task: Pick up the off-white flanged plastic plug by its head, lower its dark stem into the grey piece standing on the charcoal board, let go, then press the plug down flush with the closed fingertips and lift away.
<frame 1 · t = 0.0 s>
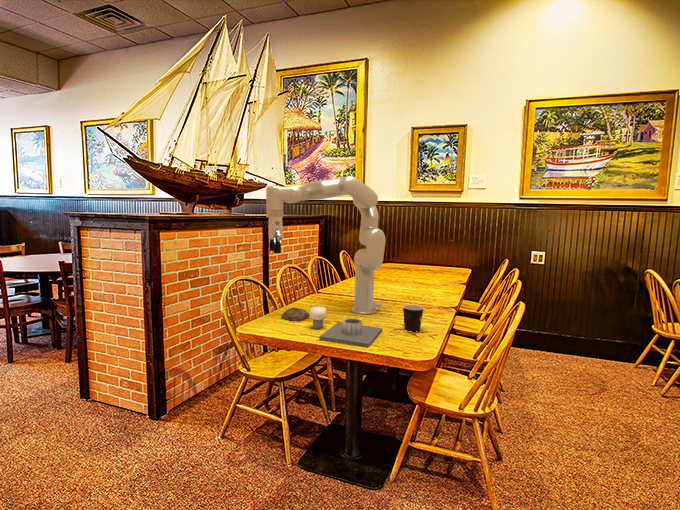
hand: (275, 252, 167), 31 cm above the table, tool pointing down, fingers open, 9 cm apart
plug: (318, 327, 160), on the table
bread roll: (294, 318, 174), on the table
grey piece: (352, 335, 150), on the table
coffee mug: (409, 331, 158), on the table
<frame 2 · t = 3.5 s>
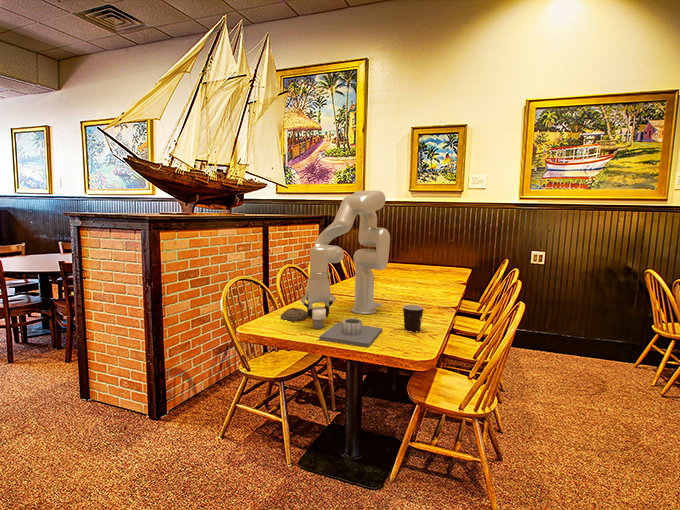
hand: (318, 316, 159), 5 cm above the table, tool pointing down, fingers closed on plug, 6 cm apart
plug: (318, 327, 160), on the table, touching gripper
everything else where it was.
when the fingers open (7 cm above the table, at t = 8.6 s): plug stays where it is, resting on grey piece.
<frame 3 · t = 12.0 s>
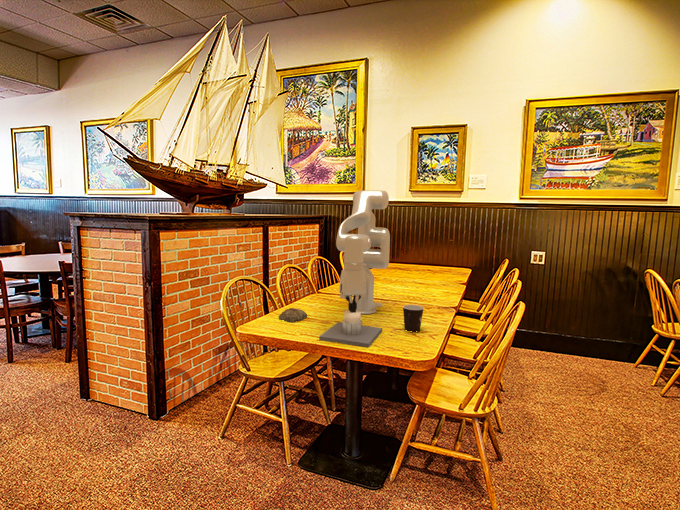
hand: (352, 311, 149), 10 cm above the table, tool pointing down, fingers closed
plug: (352, 332, 150), point 1 cm above the table, touching grey piece, gripper
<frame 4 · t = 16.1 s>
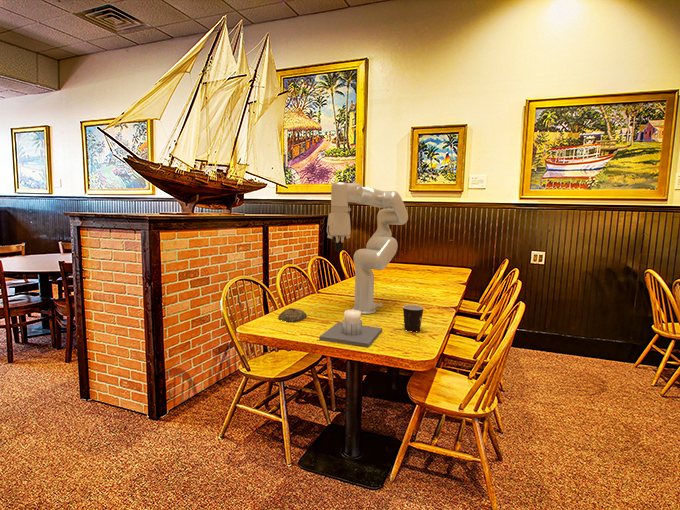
hand: (338, 251, 167), 32 cm above the table, tool pointing down, fingers closed
plug: (352, 332, 150), point 1 cm above the table, touching grey piece
at the end: plug 0.0 cm off-centre on the grey piece, point 1.5 cm above the grey piece's base; plug tilted 0°; the gripper is holding nothing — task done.
